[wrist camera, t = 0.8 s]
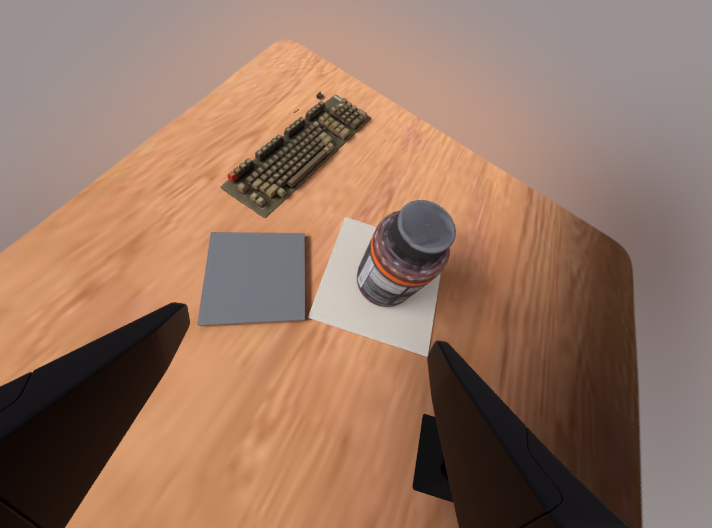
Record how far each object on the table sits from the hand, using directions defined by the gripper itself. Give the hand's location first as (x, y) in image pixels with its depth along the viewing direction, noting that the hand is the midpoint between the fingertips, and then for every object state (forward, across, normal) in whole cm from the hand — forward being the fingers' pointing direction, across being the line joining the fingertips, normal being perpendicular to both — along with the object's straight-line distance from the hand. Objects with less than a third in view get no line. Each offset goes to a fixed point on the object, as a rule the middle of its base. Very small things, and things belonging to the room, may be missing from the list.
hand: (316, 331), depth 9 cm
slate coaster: (+14, +6, +9) cm, 18 cm away
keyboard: (+29, +6, -1) cm, 30 cm away
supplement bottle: (+15, -6, +8) cm, 18 cm away
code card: (+15, -6, +8) cm, 18 cm away
